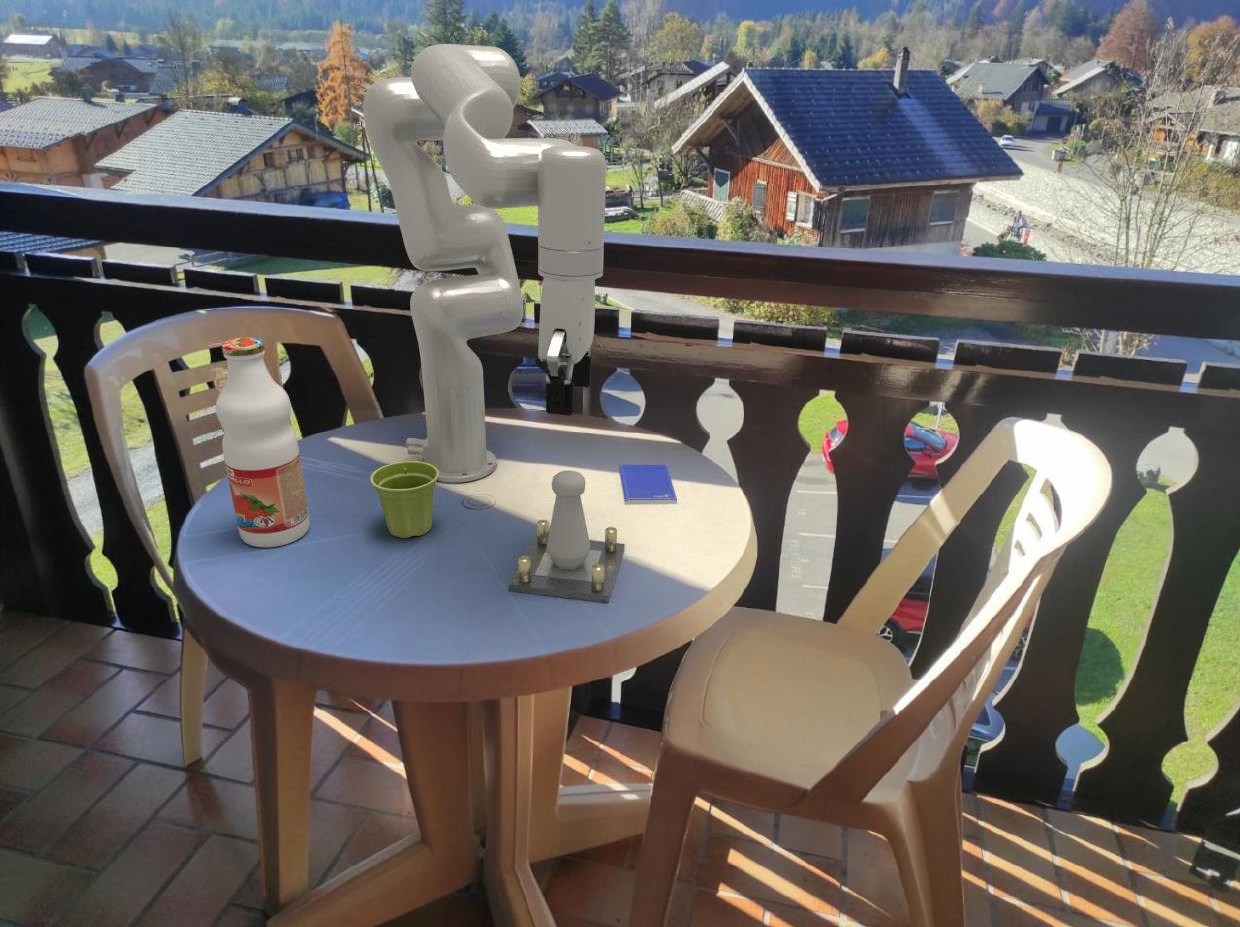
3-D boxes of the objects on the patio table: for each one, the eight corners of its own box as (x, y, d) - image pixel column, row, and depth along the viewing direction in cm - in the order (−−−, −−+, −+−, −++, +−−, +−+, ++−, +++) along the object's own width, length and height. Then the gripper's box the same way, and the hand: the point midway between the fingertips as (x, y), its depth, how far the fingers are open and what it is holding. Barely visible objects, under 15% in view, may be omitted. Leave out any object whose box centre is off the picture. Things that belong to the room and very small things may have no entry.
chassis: (508, 590, 104) (507, 564, 102) (534, 540, 115) (534, 515, 114) (608, 602, 102) (609, 576, 100) (624, 549, 114) (625, 525, 112)
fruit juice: (321, 534, 115) (293, 344, 103) (254, 556, 109) (216, 358, 97) (295, 509, 121) (265, 328, 109) (230, 529, 116) (191, 340, 104)
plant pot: (362, 537, 115) (355, 482, 111) (400, 508, 123) (395, 456, 119) (419, 550, 112) (414, 495, 108) (454, 519, 120) (451, 467, 116)
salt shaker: (541, 554, 110) (539, 468, 104) (580, 547, 112) (581, 462, 106) (555, 577, 105) (554, 488, 99) (596, 568, 107) (597, 481, 101)
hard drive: (677, 498, 126) (667, 464, 137) (625, 498, 125) (619, 464, 137) (676, 507, 127) (666, 472, 138) (624, 507, 126) (618, 472, 137)
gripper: (557, 244, 102) (556, 373, 109) (517, 275, 86) (520, 422, 94) (616, 249, 100) (611, 378, 108) (586, 280, 85) (583, 429, 93)
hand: (569, 399), depth 101 cm, fingers open, 9 cm apart
